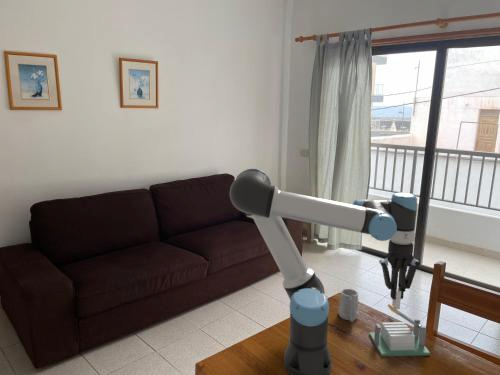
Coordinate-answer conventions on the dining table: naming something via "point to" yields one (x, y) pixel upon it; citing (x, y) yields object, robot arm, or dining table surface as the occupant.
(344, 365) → the dining table surface
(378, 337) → the heatsink board
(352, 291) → the white cup
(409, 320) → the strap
